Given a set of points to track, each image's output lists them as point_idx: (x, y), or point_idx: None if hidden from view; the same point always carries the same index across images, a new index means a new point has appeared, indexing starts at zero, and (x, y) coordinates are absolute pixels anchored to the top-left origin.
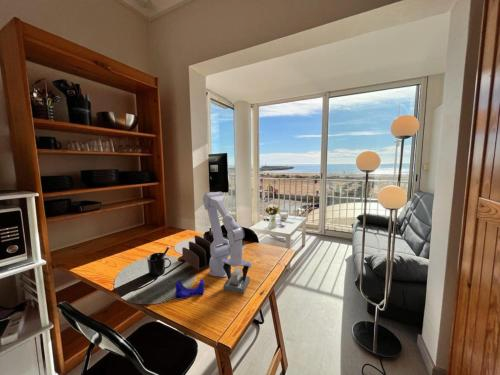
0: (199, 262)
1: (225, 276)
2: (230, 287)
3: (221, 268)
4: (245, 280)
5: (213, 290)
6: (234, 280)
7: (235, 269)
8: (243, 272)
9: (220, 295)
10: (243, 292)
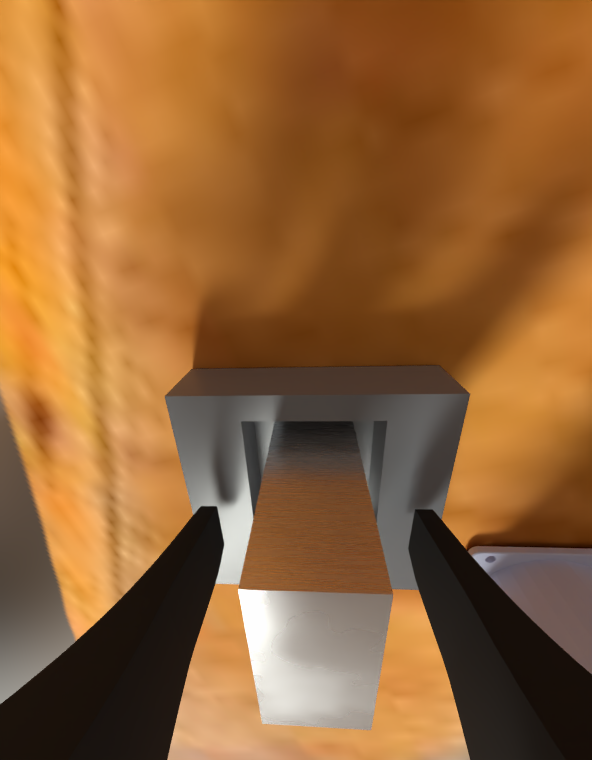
0: None
1: (473, 554)
2: (356, 389)
3: (579, 656)
4: (222, 530)
5: (571, 334)
6: (314, 485)
7: (357, 705)
8: (91, 689)
9: (455, 266)
10: (190, 374)
